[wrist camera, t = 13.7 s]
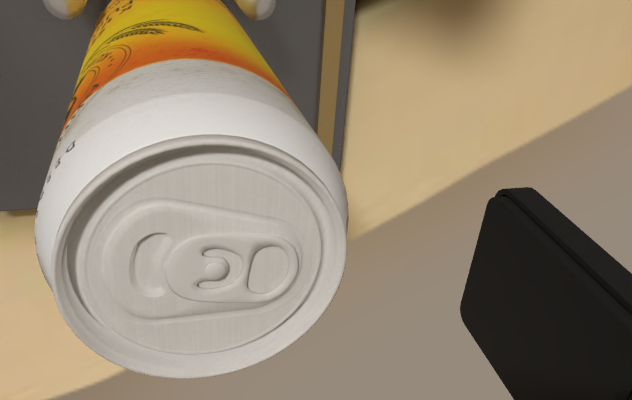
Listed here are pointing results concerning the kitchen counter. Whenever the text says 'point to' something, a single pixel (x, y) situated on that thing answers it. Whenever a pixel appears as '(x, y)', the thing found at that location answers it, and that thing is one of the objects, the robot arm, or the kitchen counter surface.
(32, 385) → the kitchen counter surface
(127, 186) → the beer can
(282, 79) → the plate
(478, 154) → the kitchen counter surface
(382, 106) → the kitchen counter surface
